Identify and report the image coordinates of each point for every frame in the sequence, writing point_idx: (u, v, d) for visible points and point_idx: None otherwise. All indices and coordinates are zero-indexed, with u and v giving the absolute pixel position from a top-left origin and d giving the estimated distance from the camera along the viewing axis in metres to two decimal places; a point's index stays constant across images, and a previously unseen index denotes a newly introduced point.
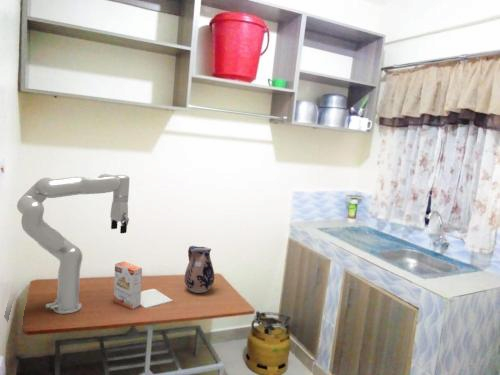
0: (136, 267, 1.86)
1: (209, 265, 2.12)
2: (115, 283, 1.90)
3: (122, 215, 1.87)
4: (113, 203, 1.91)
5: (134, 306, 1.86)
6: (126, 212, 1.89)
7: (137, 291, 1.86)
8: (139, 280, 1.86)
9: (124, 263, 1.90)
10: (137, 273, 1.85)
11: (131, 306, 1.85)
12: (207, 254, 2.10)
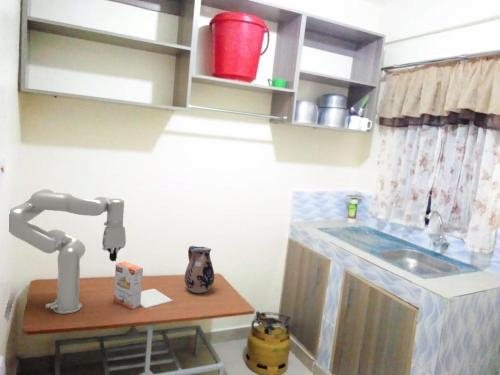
0: (137, 267, 1.87)
1: (209, 265, 2.12)
2: (115, 283, 1.90)
3: None
4: (112, 231, 1.76)
5: (134, 306, 1.86)
6: None
7: (137, 291, 1.86)
8: (140, 280, 1.87)
9: (125, 263, 1.91)
10: (138, 273, 1.85)
11: (131, 306, 1.85)
12: (207, 254, 2.10)
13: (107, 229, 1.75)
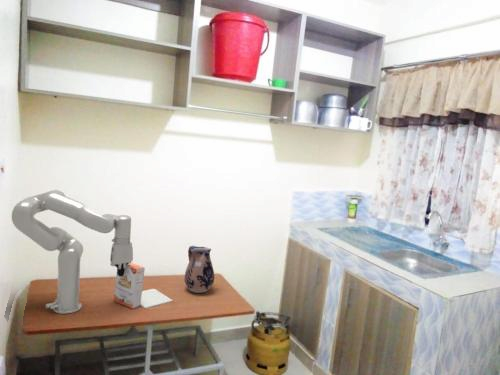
0: (139, 266, 1.88)
1: (209, 265, 2.12)
2: (116, 282, 1.90)
3: None
4: (120, 247, 1.80)
5: (134, 306, 1.86)
6: None
7: (138, 291, 1.87)
8: (141, 279, 1.87)
9: None
10: (140, 272, 1.86)
11: (131, 305, 1.85)
12: (207, 254, 2.10)
13: (115, 245, 1.79)
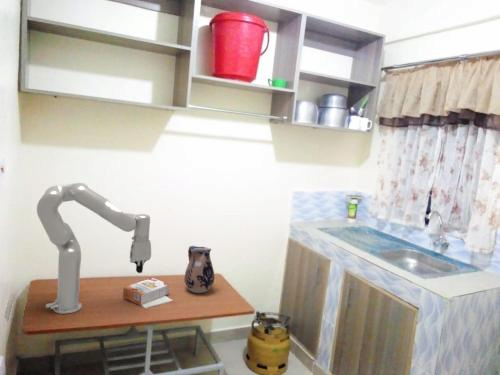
0: None
1: (209, 265, 2.12)
2: (139, 282, 2.04)
3: None
4: (139, 245, 1.88)
5: (142, 297, 1.90)
6: None
7: (153, 295, 1.96)
8: (161, 294, 2.01)
9: None
10: (166, 290, 2.05)
11: (142, 293, 1.90)
12: (207, 254, 2.10)
13: (135, 243, 1.87)
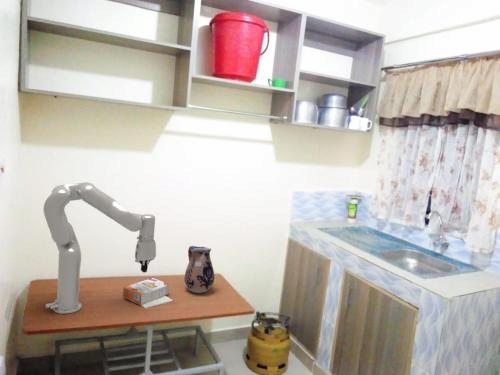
0: None
1: (209, 265, 2.12)
2: (139, 282, 2.04)
3: None
4: (144, 244, 1.90)
5: (142, 297, 1.90)
6: None
7: (153, 295, 1.96)
8: (161, 294, 2.01)
9: None
10: (166, 290, 2.05)
11: (142, 293, 1.90)
12: (207, 254, 2.10)
13: (140, 243, 1.89)
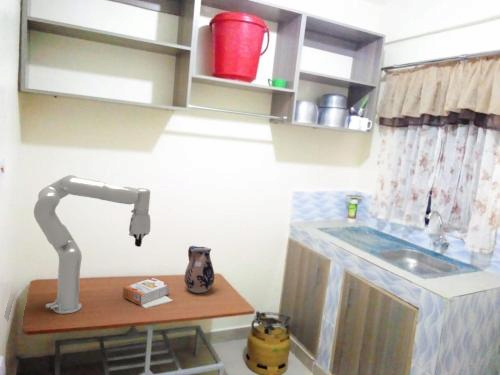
0: None
1: (209, 265, 2.12)
2: (139, 282, 2.04)
3: None
4: (139, 218, 1.89)
5: (142, 297, 1.90)
6: None
7: (153, 295, 1.96)
8: (161, 294, 2.01)
9: None
10: (166, 290, 2.05)
11: (142, 293, 1.90)
12: (207, 254, 2.10)
13: (134, 216, 1.88)
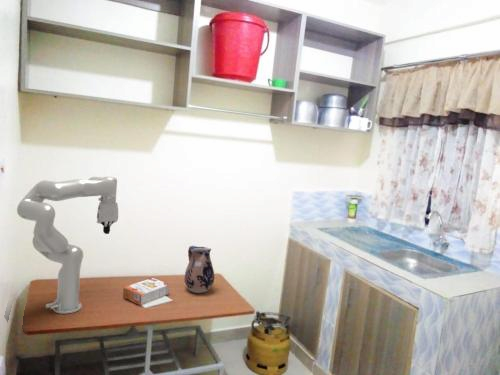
0: None
1: (209, 265, 2.12)
2: (139, 282, 2.04)
3: None
4: (106, 206, 1.94)
5: (142, 297, 1.90)
6: None
7: (153, 295, 1.96)
8: (161, 294, 2.01)
9: None
10: (166, 290, 2.05)
11: (142, 293, 1.90)
12: (207, 254, 2.10)
13: (101, 204, 1.93)
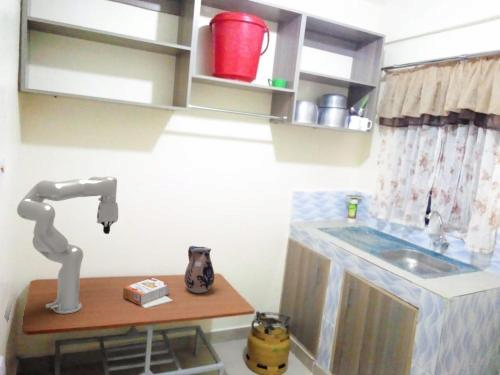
0: None
1: (209, 265, 2.12)
2: (139, 282, 2.04)
3: None
4: (106, 206, 1.94)
5: (142, 297, 1.90)
6: None
7: (153, 295, 1.96)
8: (161, 294, 2.01)
9: None
10: (166, 290, 2.05)
11: (142, 293, 1.90)
12: (207, 254, 2.10)
13: (101, 204, 1.93)
